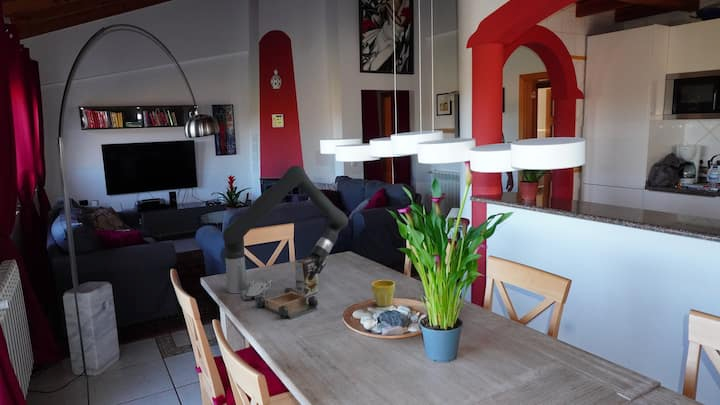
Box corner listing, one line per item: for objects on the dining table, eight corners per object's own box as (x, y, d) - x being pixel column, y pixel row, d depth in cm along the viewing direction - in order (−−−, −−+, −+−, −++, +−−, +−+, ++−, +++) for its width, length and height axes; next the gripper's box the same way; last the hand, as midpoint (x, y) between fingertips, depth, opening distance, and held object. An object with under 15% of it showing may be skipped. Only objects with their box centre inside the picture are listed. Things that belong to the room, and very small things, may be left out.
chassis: (254, 305, 227) (253, 295, 226) (285, 295, 238) (285, 285, 238) (287, 320, 208) (287, 308, 207) (320, 309, 220) (319, 298, 219)
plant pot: (368, 306, 220) (367, 285, 219) (378, 299, 229) (377, 278, 228) (389, 310, 215) (389, 288, 214) (399, 302, 224) (398, 281, 223)
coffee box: (306, 297, 234) (304, 263, 232) (296, 294, 238) (294, 261, 236) (319, 291, 242) (317, 259, 239) (309, 289, 245) (307, 257, 243)
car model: (273, 285, 257) (272, 275, 256) (263, 302, 233) (262, 291, 232) (251, 285, 257) (251, 276, 256) (239, 302, 233) (238, 292, 232)
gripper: (308, 242, 247) (290, 270, 241) (327, 247, 236) (308, 276, 230) (317, 250, 251) (300, 278, 245) (336, 255, 241) (318, 285, 235)
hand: (304, 277), depth 238 cm, fingers closed on coffee box, 7 cm apart
